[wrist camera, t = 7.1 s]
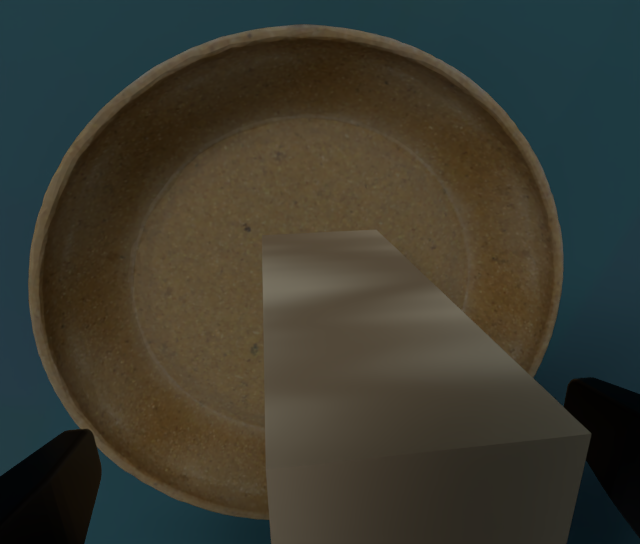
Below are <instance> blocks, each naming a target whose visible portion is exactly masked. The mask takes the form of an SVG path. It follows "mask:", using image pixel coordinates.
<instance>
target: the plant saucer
mask: <svg viewBox="0 0 640 544" xmlns="http://www.w3.org/2000/svg"><path fill="white" fill-rule="evenodd" d="M359 230H377V231H378V232H379V233H381V234H382V235H383V236H384V237H385V238H386V239H387V240H388V241H389V242H390V243H391V244H392V245H393V246H394V247H395V248H396V249H397V250H398V251H400V252H401V253H402V254H403V255H404V256H405V257H406V258H407V259H408V260H409V261H410V262H411V263H412V264H413V265H414V266H415V267H416V268H417V269H418V270H420V271H421V272H422V273H423V274H424V275H425V276H426V277H427V278H428V279H429V280H430V281H431V282H432V283H433V284H434V285H435V286H436V287H437V288H439V289H440V290H441V291H442V292H443V293H444V294H445V295H446V296H447V297H448V298H449V299H450V300H451V301H452V302H453V303H454V304H455V305H456V306H457V307H459V308H460V309H461V310H462V311H463V312H464V313H465V314H466V315H467V316H468V317H469V318H470V319H471V320H472V321H473V322H474V323H475V324H476V325H478V326H479V327H480V328H481V329H482V330H483V331H484V332H485V333H486V334H487V335H488V336H489V337H490V338H491V339H492V340H493V341H494V342H495V343H497V344H498V345H499V346H500V347H501V348H502V349H503V350H504V351H505V352H506V353H507V354H508V355H509V356H510V357H511V358H512V359H513V360H514V361H515V362H517V363H518V364H519V365H520V366H521V367H522V368H523V369H524V370H525V371H526V372H527V373H528V374H529V375H530V376H531V377H532V378H533V377H534V376H535V374H536V372H537V369H538V368H539V366H540V364H541V362H542V359H543V356H544V354H545V352H546V349H547V347H548V344H549V341H550V339H551V336H552V333H553V328H554V324H555V321H556V317H557V313H558V307H559V301H560V297H561V291H562V282H563V245H562V236H561V227H560V224H559V221H558V215H557V210H556V205H555V202H554V198H553V195H552V193H551V191H550V187H549V184H548V181H547V179H546V176H545V173H544V171H543V169H542V167H541V165H540V163H539V161H538V158H537V157H536V155H535V153H534V152H533V150H532V148H531V147H530V145H529V143H528V141H527V140H526V138H525V137H524V136H523V135H522V133H521V132H520V131H519V129H518V128H517V126H516V124H515V123H514V122H513V121H512V120H511V119H510V117H509V116H508V114H507V113H506V112H505V111H504V110H503V109H502V108H501V107H500V106H499V105H498V104H497V103H496V102H495V101H494V100H493V99H492V97H491V96H490V95H489V94H488V93H486V92H485V91H484V90H483V89H482V88H480V87H479V86H478V85H477V84H476V83H475V82H473V81H472V80H471V79H469V78H468V77H467V76H465V75H464V74H463V73H461V72H460V71H458V70H457V69H455V68H454V67H452V66H450V65H448V64H446V63H445V62H443V61H442V60H440V59H437V58H435V57H434V56H432V55H430V54H428V53H426V52H424V51H422V50H420V49H418V48H415V47H413V46H410V45H407V44H405V43H401V42H399V41H397V40H395V39H391V38H388V37H384V36H380V35H376V34H371V33H367V32H363V31H358V30H352V29H347V28H340V27H329V26H320V25H306V24H301V25H289V26H279V27H269V28H262V29H256V30H251V31H246V32H241V33H237V34H233V35H228V36H224V37H220V38H217V39H215V40H212V41H209V42H207V43H204V44H202V45H199V46H196V47H193V48H191V49H189V50H187V51H185V52H182V53H181V54H179V55H177V56H175V57H173V58H171V59H169V60H167V61H165V62H163V63H161V64H159V65H157V66H155V67H154V68H152V69H151V70H149V71H148V72H146V73H145V74H143V75H142V76H141V77H139V78H138V79H137V80H135V81H134V82H133V83H131V84H130V85H129V86H127V87H126V88H125V89H124V90H122V91H121V92H120V93H119V94H118V95H116V96H115V97H114V98H113V99H112V100H111V101H110V102H109V103H107V104H106V105H105V106H104V107H103V108H102V109H101V110H100V111H99V112H98V113H97V114H96V116H95V117H94V118H93V119H92V120H91V121H90V122H89V123H88V124H87V125H86V127H85V128H84V130H83V131H82V132H81V133H80V134H79V136H78V137H77V138H76V140H75V141H74V142H73V144H72V145H71V147H70V148H69V150H68V151H67V153H66V155H65V156H64V157H63V160H62V162H61V164H60V166H59V168H58V169H57V171H56V173H55V174H54V176H53V178H52V180H51V182H50V185H49V187H48V189H47V191H46V193H45V195H44V199H43V204H42V207H41V210H40V212H39V214H38V218H37V221H36V226H35V231H34V235H33V240H32V244H31V251H30V267H29V281H28V286H29V307H30V315H31V320H32V327H33V333H34V337H35V341H36V345H37V349H38V353H39V356H40V358H41V360H42V364H43V366H44V369H45V371H46V373H47V375H48V378H49V381H50V382H51V384H52V386H53V388H54V390H55V392H56V394H57V395H58V397H59V398H60V400H61V402H62V404H63V405H64V407H65V409H66V410H67V411H68V413H69V414H70V416H71V417H72V419H73V420H74V422H75V423H76V424H77V425H78V426H79V428H80V429H89V430H91V431H92V433H93V435H94V438H95V442H96V446H97V447H98V448H99V449H100V450H101V451H102V452H103V453H104V454H105V455H106V456H107V457H108V458H110V459H111V460H112V461H113V462H114V463H116V464H117V465H118V466H119V467H121V468H122V469H123V470H125V471H126V472H128V473H130V474H132V475H134V476H135V477H136V478H137V479H139V480H140V481H142V482H144V483H146V484H148V485H150V486H152V487H153V488H155V489H156V490H159V491H161V492H163V493H165V494H166V495H168V496H170V497H172V498H174V499H177V500H179V501H183V502H187V503H189V504H191V505H194V506H197V507H200V508H203V509H206V510H209V511H213V512H216V513H221V514H224V515H231V516H236V517H246V518H252V519H265V520H270V519H269V506H268V493H267V479H266V452H265V392H264V332H263V273H262V235H278V234H298V233H318V232H339V231H359Z"/></svg>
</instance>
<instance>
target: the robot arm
mask: <svg viewBox="0 0 640 544" xmlns="http://www.w3.org/2000/svg"><path fill="white" fill-rule="evenodd" d="M564 408H565V409H566V410H567V411H568V412H569V413H570V414H571V415H572V416H573V417H575V418H576V419H577V420H578V421H579V422H580V423H581V424H582V425H583V426H584V427H585V428H586V429H587V430H588V431H589V432H590V433H591V439H590V443H589V447H588V452H587V456H586V461H587V462H588V464H589V466H590V467H591V469H592V470H593V472H594V474H595V475H596V477H597V478H598V480H599V482H600V483H601V485H602V487H603V488H604V490H605V491H606V493H607V494H608V496H609V497H610V499H611V500H612V502H613V503H614V504H615V506H616V507H617V509H618V510H619V511H620V513H621V514H622V515H623V517H624V518H625V519H626V521H627V522H628V523H629V525H630V526H631V527H632V529H633V530H634V531H635V533H636V534H637V535H638V537H639V538H640V394H638V393H635V392H632V391H630V390H627V389H624V388H621V387H619V386H616V385H613V384H610V383H607V382H605V381H602V380H599V379H596V378H591V377H588V378H578V379H573V380H571V381H570V382H569V384H568V387H567V392H566V398H565V403H564ZM101 471H102V470H101V463H100V459H99V455H98V450H97V446H96V442H95V438H94V435H93V433H92V431H91V430H89V429H77V430H68V431H64V432H63V433H61V434H60V435H58V436H57V437H55V438H54V439H52V440H51V441H50V442H48V443H47V444H45V445H44V446H43V447H41V448H40V449H38V450H37V451H36V452H34V453H33V454H31V455H30V456H28V457H27V458H26V459H24V460H23V461H21V462H20V463H19V464H17V465H16V466H14V467H13V468H11V469H10V470H9V471H7V472H6V473H4V474H3V475H2V476H0V544H84V542H85V539H86V535H87V531H88V527H89V523H90V519H91V515H92V511H93V508H94V504H95V500H96V496H97V492H98V488H99V484H100V480H101Z"/></svg>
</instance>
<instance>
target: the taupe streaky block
mask: <svg viewBox="0 0 640 544" xmlns="http://www.w3.org/2000/svg"><path fill="white" fill-rule="evenodd" d="M262 273H263V332H264V392H265V452H266V479H267V493H268V506H269V519H270V533H271V544H566V543H567V539H568V535H569V530H570V526H571V522H572V517H573V513H574V508H575V504H576V500H577V495H578V491H579V487H580V482H581V478H582V474H583V469H584V465H585V460H586V456H587V452H588V447H589V443H590V439H591V433H590V432H589V431H588V430H587V429H586V428H585V427H584V426H583V425H582V424H581V423H580V422H579V421H578V420H577V419H576V418H575V417H573V416H572V415H571V414H570V413H569V412H568V411H567V410H566V409H565V408H564V407H563V406H562V405H561V404H560V403H559V402H558V401H557V400H556V399H555V398H553V397H552V396H551V395H550V394H549V393H548V392H547V391H546V390H545V389H544V388H543V387H542V386H541V385H540V384H539V383H538V382H537V381H536V380H534V379H533V378H532V377H531V376H530V375H529V374H528V373H527V372H526V371H525V370H524V369H523V368H522V367H521V366H520V365H519V364H518V363H517V362H515V361H514V360H513V359H512V358H511V357H510V356H509V355H508V354H507V353H506V352H505V351H504V350H503V349H502V348H501V347H500V346H499V345H498V344H497V343H495V342H494V341H493V340H492V339H491V338H490V337H489V336H488V335H487V334H486V333H485V332H484V331H483V330H482V329H481V328H480V327H479V326H478V325H476V324H475V323H474V322H473V321H472V320H471V319H470V318H469V317H468V316H467V315H466V314H465V313H464V312H463V311H462V310H461V309H460V308H459V307H457V306H456V305H455V304H454V303H453V302H452V301H451V300H450V299H449V298H448V297H447V296H446V295H445V294H444V293H443V292H442V291H441V290H440V289H439V288H437V287H436V286H435V285H434V284H433V283H432V282H431V281H430V280H429V279H428V278H427V277H426V276H425V275H424V274H423V273H422V272H421V271H420V270H418V269H417V268H416V267H415V266H414V265H413V264H412V263H411V262H410V261H409V260H408V259H407V258H406V257H405V256H404V255H403V254H402V253H401V252H400V251H398V250H397V249H396V248H395V247H394V246H393V245H392V244H391V243H390V242H389V241H388V240H387V239H386V238H385V237H384V236H383V235H382V234H381V233H379V232H378V231H377V230H359V231H339V232H318V233H298V234H278V235H262Z"/></svg>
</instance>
